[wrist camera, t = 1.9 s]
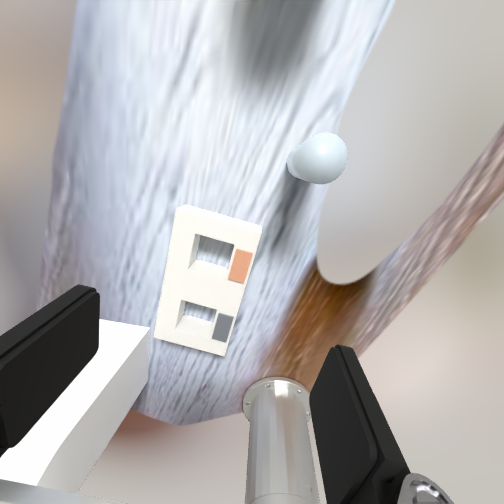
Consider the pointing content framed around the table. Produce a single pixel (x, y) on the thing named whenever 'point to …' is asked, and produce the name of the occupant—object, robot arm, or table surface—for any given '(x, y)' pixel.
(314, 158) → the plug
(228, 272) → the socket block
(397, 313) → the table surface
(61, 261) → the table surface
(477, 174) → the table surface
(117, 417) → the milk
